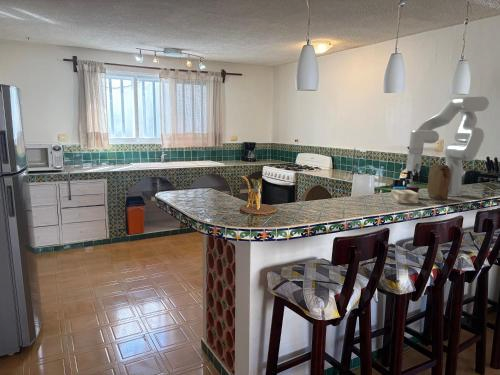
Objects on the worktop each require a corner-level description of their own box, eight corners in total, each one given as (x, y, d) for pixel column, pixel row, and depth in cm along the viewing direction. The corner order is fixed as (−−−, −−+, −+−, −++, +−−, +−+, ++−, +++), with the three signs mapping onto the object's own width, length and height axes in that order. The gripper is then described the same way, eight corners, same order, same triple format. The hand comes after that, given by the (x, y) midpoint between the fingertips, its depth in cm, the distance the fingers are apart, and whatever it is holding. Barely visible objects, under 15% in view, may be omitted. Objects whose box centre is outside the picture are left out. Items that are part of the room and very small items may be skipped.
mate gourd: (414, 196, 221) (416, 171, 219) (420, 199, 214) (423, 173, 211) (402, 196, 221) (404, 171, 218) (408, 198, 213) (410, 173, 211)
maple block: (409, 200, 212) (410, 189, 211) (417, 204, 201) (418, 193, 200) (390, 199, 212) (391, 189, 211) (397, 204, 201) (398, 193, 200)
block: (425, 196, 220) (428, 163, 216) (434, 196, 222) (438, 163, 219) (440, 200, 210) (444, 166, 206) (449, 200, 212) (454, 165, 209)
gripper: (404, 150, 221) (400, 178, 224) (414, 152, 204) (410, 182, 207) (416, 150, 220) (413, 178, 223) (428, 153, 203) (424, 183, 206)
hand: (412, 180), depth 215 cm, fingers open, 9 cm apart
